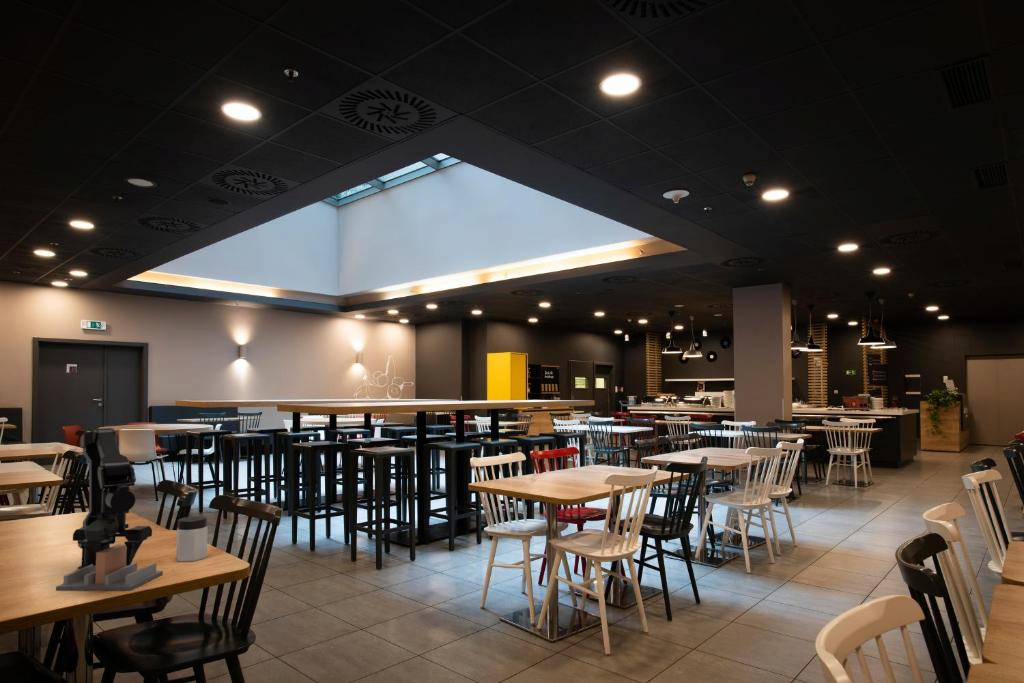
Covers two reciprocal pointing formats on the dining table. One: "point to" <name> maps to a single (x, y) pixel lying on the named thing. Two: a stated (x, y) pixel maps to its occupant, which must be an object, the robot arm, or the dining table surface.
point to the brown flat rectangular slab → (109, 561)
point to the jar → (191, 538)
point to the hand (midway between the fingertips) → (111, 565)
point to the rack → (110, 578)
